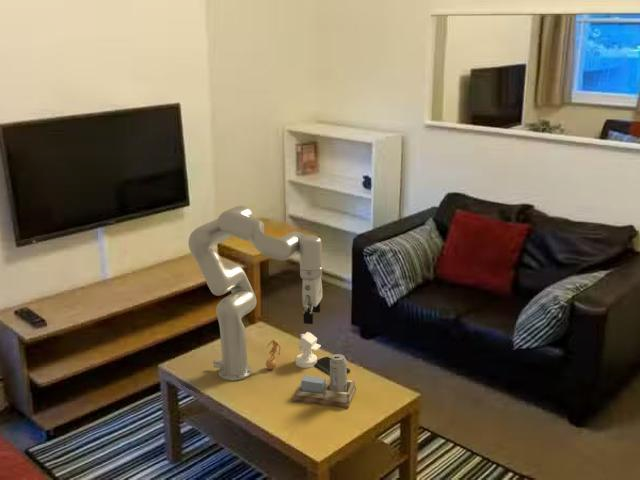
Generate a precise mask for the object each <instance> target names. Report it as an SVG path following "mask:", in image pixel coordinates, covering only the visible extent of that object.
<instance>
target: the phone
mask: <svg viewBox="0 0 640 480" xmlns="http://www.w3.org/2000/svg"><path fill="white" fill-rule="evenodd" d="M330 360H331V357H329V356H324V357H322V358H319V359H318V358H317V363H316V364H315V366H314V367H316V368H317V369H319V370H321V371H323V372H325V373H326V374H328V375H329V376H330ZM349 373H351V369H350V368H348V367H347V375H348V374H349Z"/></svg>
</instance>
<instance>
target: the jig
mask: <svg viewBox="0 0 640 480" xmlns="http://www.w3.org/2000/svg"><path fill="white" fill-rule="evenodd" d="M356 390H357V387H356V381H355V380H349V379H347V392H338V391H330V377H329V378H328V381H326V386H325V389H324V391H323V394H319V393H311V392H303V391H301V382H300V384H299V385H298V386H297V389H296V391H295V392H294V395H293V397H292V399H291V401H292V402H293V403H294V402H295V403H303V404H309V405H310V404H311V405H317V406H318V405H319V406H328V407H336V408H343V409H345V408H346V409H349V408H350V406H351V403H352V400H353V398H354V396H355V393H356Z"/></svg>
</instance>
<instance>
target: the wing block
mask: <svg viewBox="0 0 640 480" xmlns="http://www.w3.org/2000/svg"><path fill="white" fill-rule="evenodd" d="M300 383H301V391H303V392H311V393H319V394H323V391H324V389H325V386H326V384H327V379H326V378H325V377H321V376H313V375H312V376H311V375H305V374H304V375H303V377H302V379H301V381H300Z"/></svg>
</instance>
